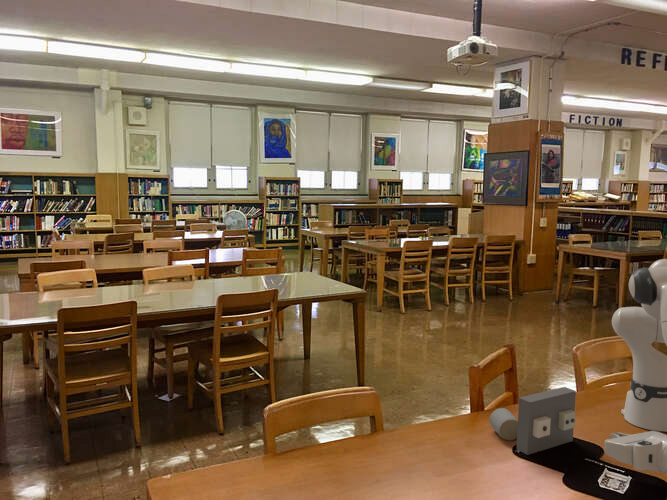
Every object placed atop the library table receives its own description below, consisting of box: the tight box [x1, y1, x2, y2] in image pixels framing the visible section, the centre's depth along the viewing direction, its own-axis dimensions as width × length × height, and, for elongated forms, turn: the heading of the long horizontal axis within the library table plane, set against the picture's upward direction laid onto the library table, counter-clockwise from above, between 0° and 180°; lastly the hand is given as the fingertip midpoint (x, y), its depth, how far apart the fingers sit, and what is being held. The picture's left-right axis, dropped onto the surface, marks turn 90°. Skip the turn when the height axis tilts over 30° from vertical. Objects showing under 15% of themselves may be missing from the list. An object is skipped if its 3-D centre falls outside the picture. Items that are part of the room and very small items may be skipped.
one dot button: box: [532, 416, 551, 438], centre depth 154 cm, size 5×5×5 cm
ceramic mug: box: [489, 407, 518, 441], centre depth 164 cm, size 11×8×8 cm
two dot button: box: [558, 409, 577, 431], centre depth 159 cm, size 5×5×5 cm
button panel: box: [516, 386, 577, 456], centre depth 158 cm, size 20×4×16 cm, turn 118°
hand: (613, 435), depth 146 cm, fingers closed
